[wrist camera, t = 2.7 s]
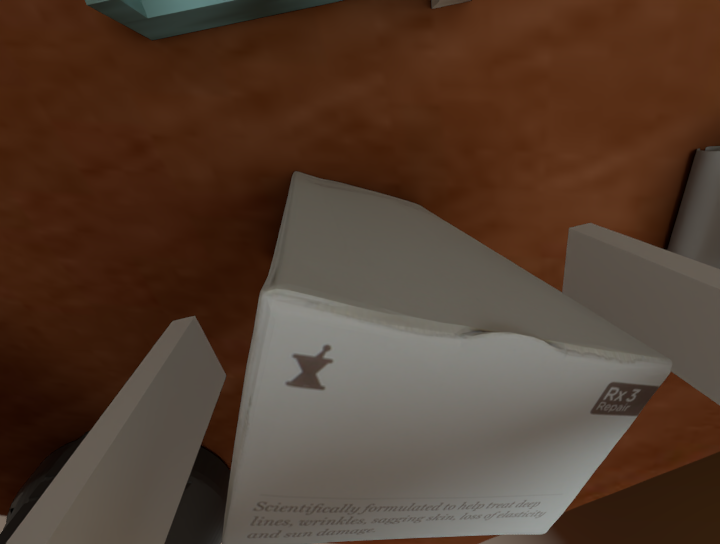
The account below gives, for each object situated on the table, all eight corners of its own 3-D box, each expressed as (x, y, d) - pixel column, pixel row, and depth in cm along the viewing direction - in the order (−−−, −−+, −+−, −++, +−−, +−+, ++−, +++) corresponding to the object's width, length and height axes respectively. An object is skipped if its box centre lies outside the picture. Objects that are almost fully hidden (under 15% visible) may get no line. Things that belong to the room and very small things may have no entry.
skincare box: (274, 261, 19) (187, 564, 6) (294, 162, 17) (225, 288, 4) (399, 287, 21) (546, 559, 8) (432, 201, 19) (712, 376, 6)
